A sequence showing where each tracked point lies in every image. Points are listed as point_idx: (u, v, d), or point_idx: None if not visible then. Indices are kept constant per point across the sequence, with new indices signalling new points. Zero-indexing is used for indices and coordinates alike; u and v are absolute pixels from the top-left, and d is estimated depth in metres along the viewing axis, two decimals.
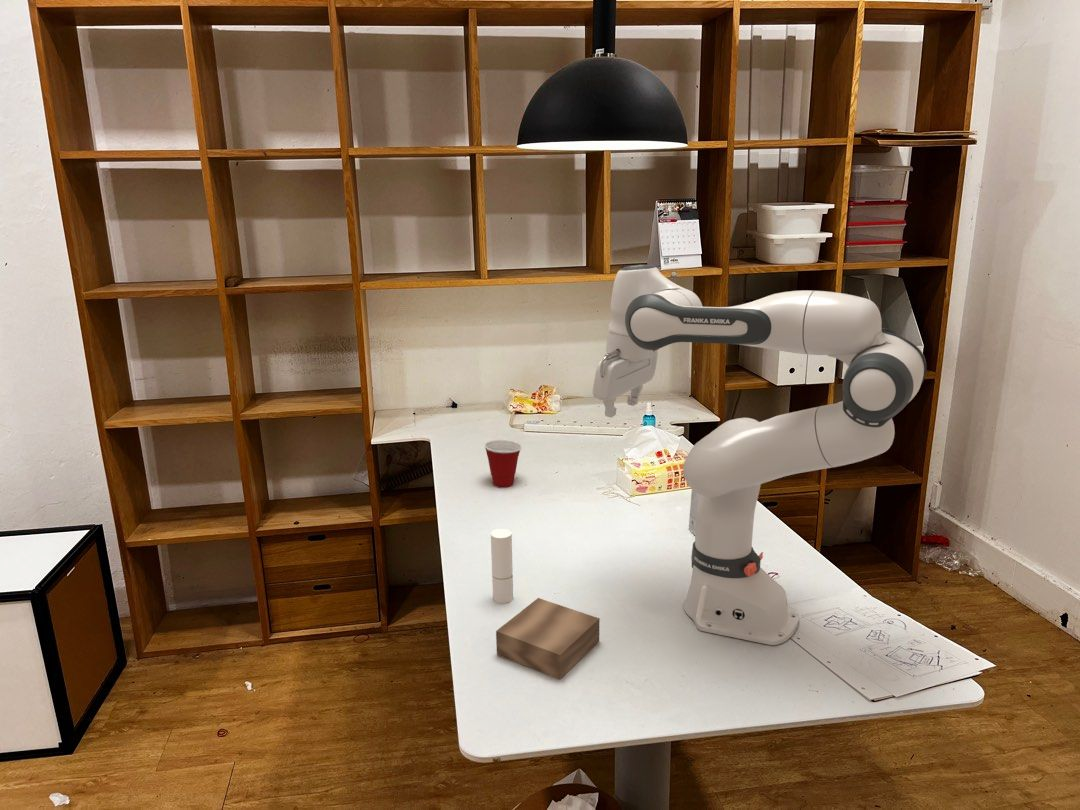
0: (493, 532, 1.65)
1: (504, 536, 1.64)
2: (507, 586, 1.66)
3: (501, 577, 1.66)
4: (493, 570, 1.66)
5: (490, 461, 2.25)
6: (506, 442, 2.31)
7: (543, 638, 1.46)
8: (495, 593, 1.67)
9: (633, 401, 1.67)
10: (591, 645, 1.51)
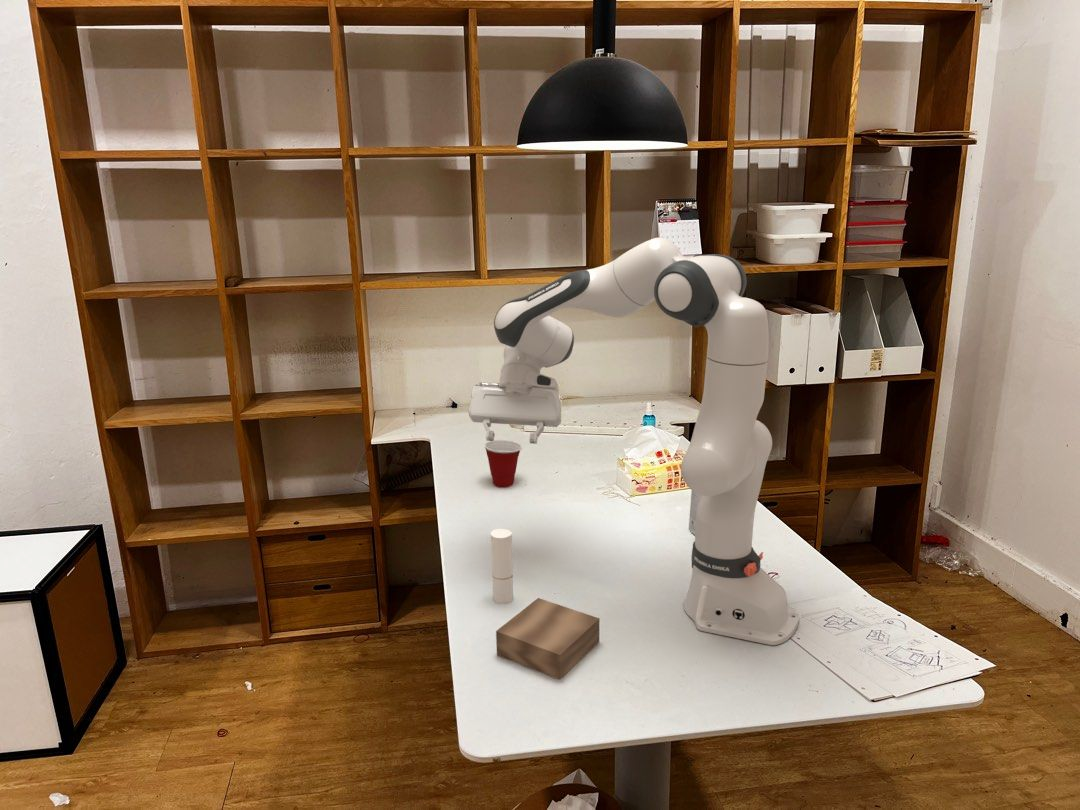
0: (493, 532, 1.65)
1: (504, 536, 1.64)
2: (507, 586, 1.66)
3: (501, 577, 1.66)
4: (493, 570, 1.66)
5: (490, 461, 2.25)
6: (506, 442, 2.31)
7: (543, 638, 1.46)
8: (495, 593, 1.67)
9: (530, 437, 1.71)
10: (591, 645, 1.51)
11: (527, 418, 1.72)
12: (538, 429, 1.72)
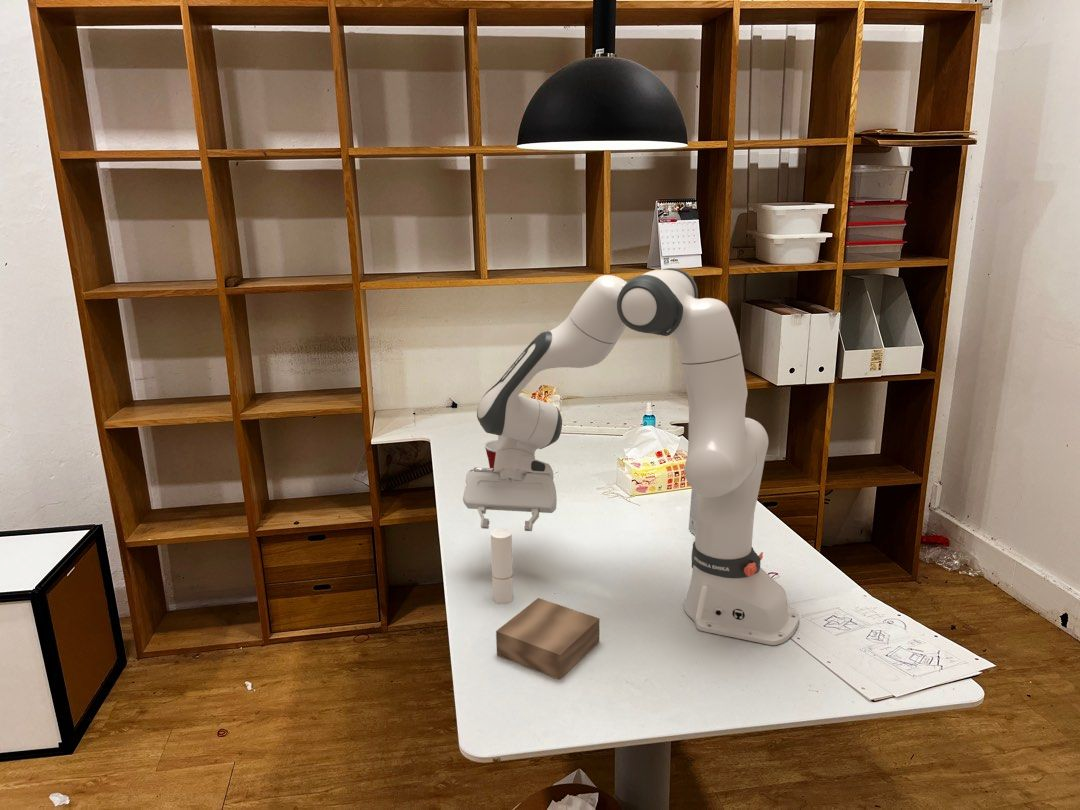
0: (493, 532, 1.65)
1: (504, 536, 1.64)
2: (507, 586, 1.66)
3: (501, 577, 1.66)
4: (493, 570, 1.66)
5: (490, 461, 2.25)
6: None
7: (543, 638, 1.46)
8: (495, 593, 1.67)
9: (525, 524, 1.70)
10: (591, 645, 1.51)
11: (522, 505, 1.71)
12: (533, 516, 1.70)
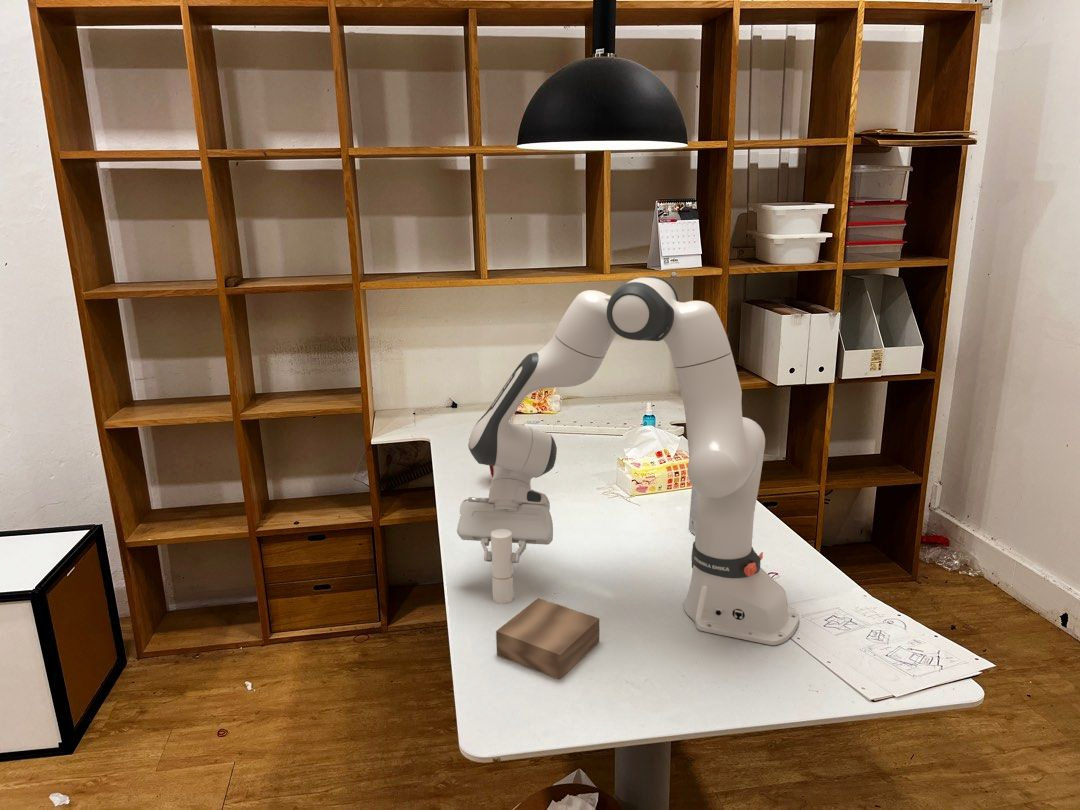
0: (493, 532, 1.65)
1: (504, 536, 1.64)
2: (507, 586, 1.66)
3: (501, 577, 1.66)
4: (493, 570, 1.66)
5: None
6: None
7: (543, 638, 1.46)
8: (495, 593, 1.67)
9: None
10: (591, 645, 1.51)
11: (517, 537, 1.66)
12: (520, 548, 1.66)
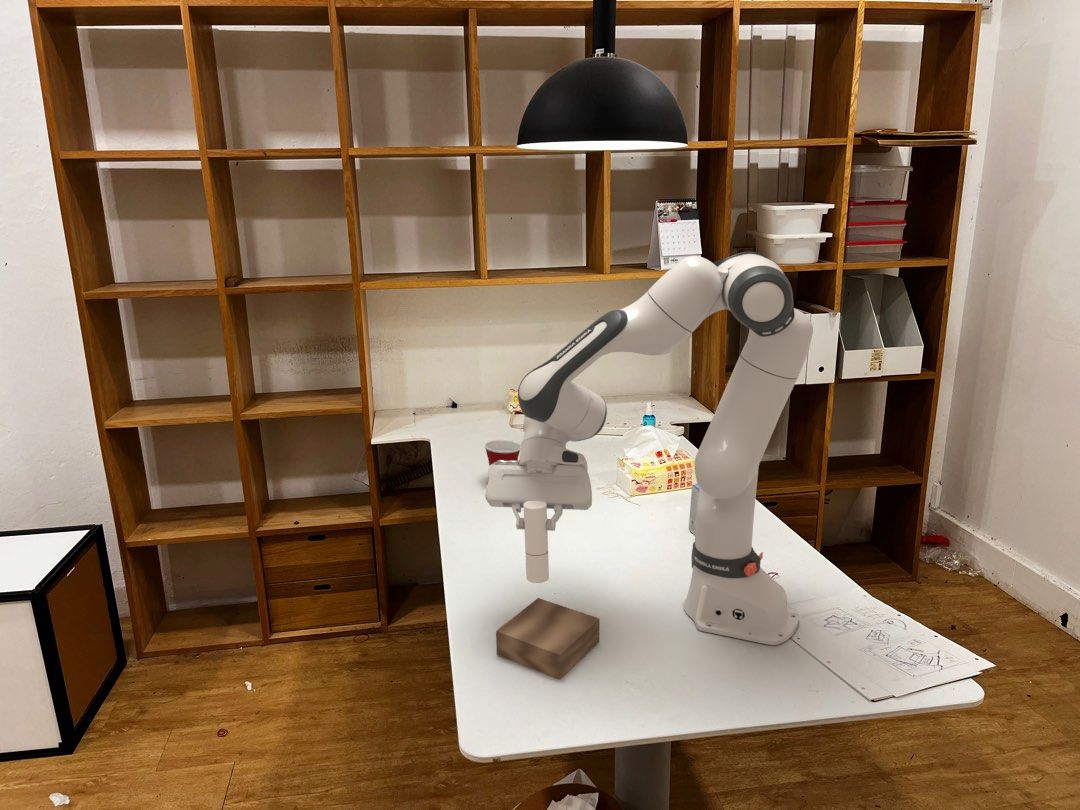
0: (526, 503, 1.49)
1: (538, 507, 1.47)
2: (542, 564, 1.50)
3: (536, 553, 1.49)
4: (526, 546, 1.50)
5: (490, 461, 2.25)
6: (506, 442, 2.31)
7: (543, 638, 1.46)
8: (529, 572, 1.51)
9: (547, 523, 1.49)
10: (591, 645, 1.51)
11: (553, 501, 1.49)
12: (556, 514, 1.49)
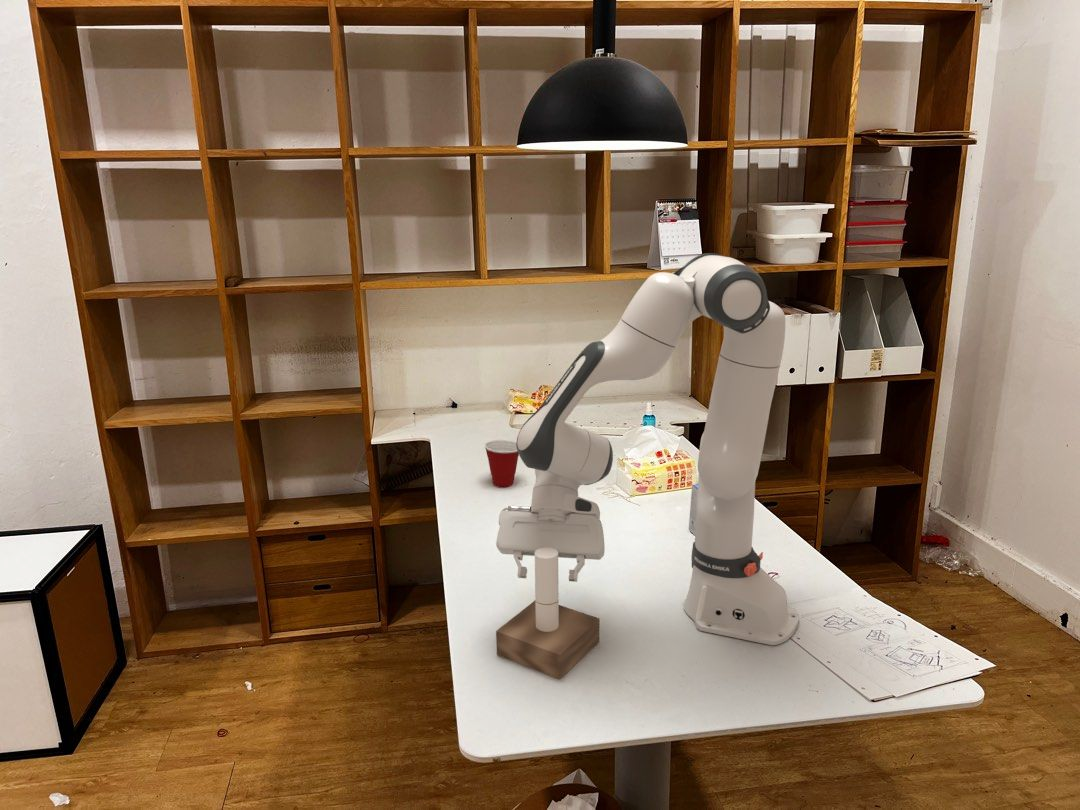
0: (537, 551, 1.46)
1: (550, 556, 1.44)
2: (553, 613, 1.47)
3: (546, 602, 1.46)
4: (537, 594, 1.47)
5: (490, 461, 2.25)
6: (506, 442, 2.31)
7: (543, 638, 1.46)
8: (538, 620, 1.48)
9: None
10: (591, 645, 1.51)
11: (565, 551, 1.47)
12: (578, 565, 1.46)
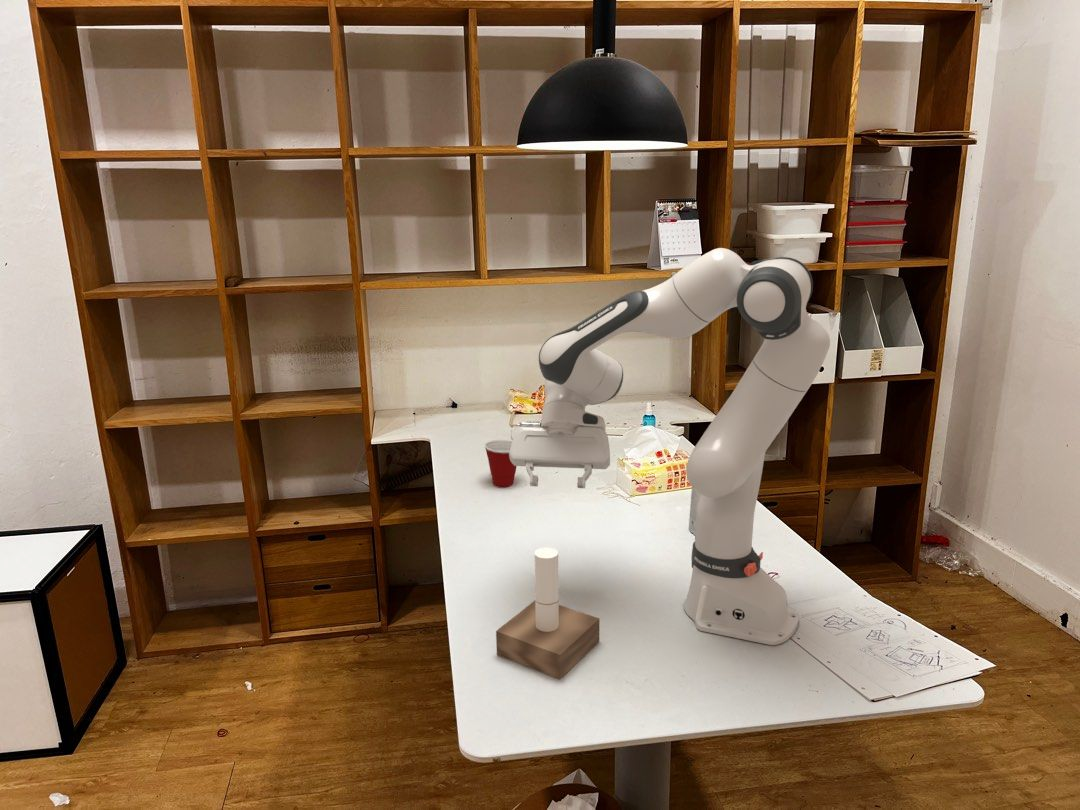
0: (537, 551, 1.46)
1: (550, 556, 1.44)
2: (553, 613, 1.47)
3: (546, 602, 1.46)
4: (537, 594, 1.47)
5: (490, 461, 2.25)
6: (506, 442, 2.31)
7: (543, 638, 1.46)
8: (538, 620, 1.48)
9: (578, 481, 1.57)
10: (591, 645, 1.51)
11: (574, 461, 1.58)
12: (586, 472, 1.57)
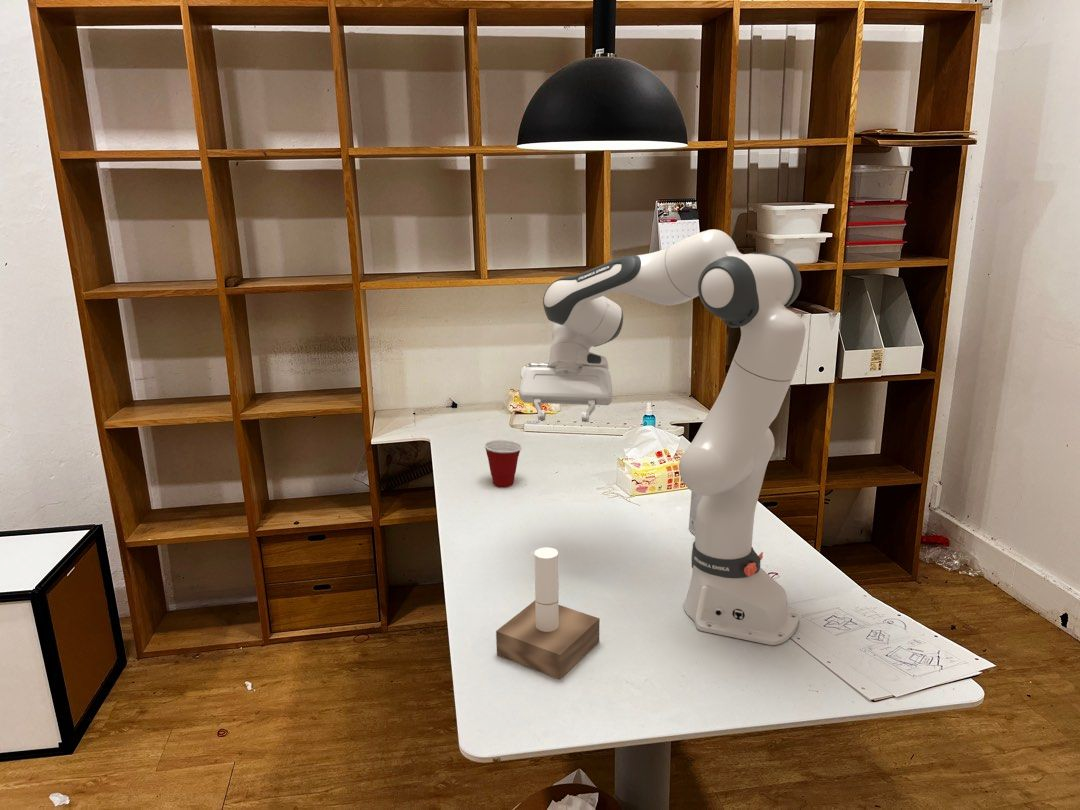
0: (537, 551, 1.46)
1: (550, 556, 1.44)
2: (553, 613, 1.47)
3: (546, 602, 1.46)
4: (537, 594, 1.47)
5: (490, 461, 2.25)
6: (506, 442, 2.31)
7: (543, 638, 1.46)
8: (538, 620, 1.48)
9: (582, 415, 1.70)
10: (591, 645, 1.51)
11: (578, 396, 1.71)
12: (590, 407, 1.70)
